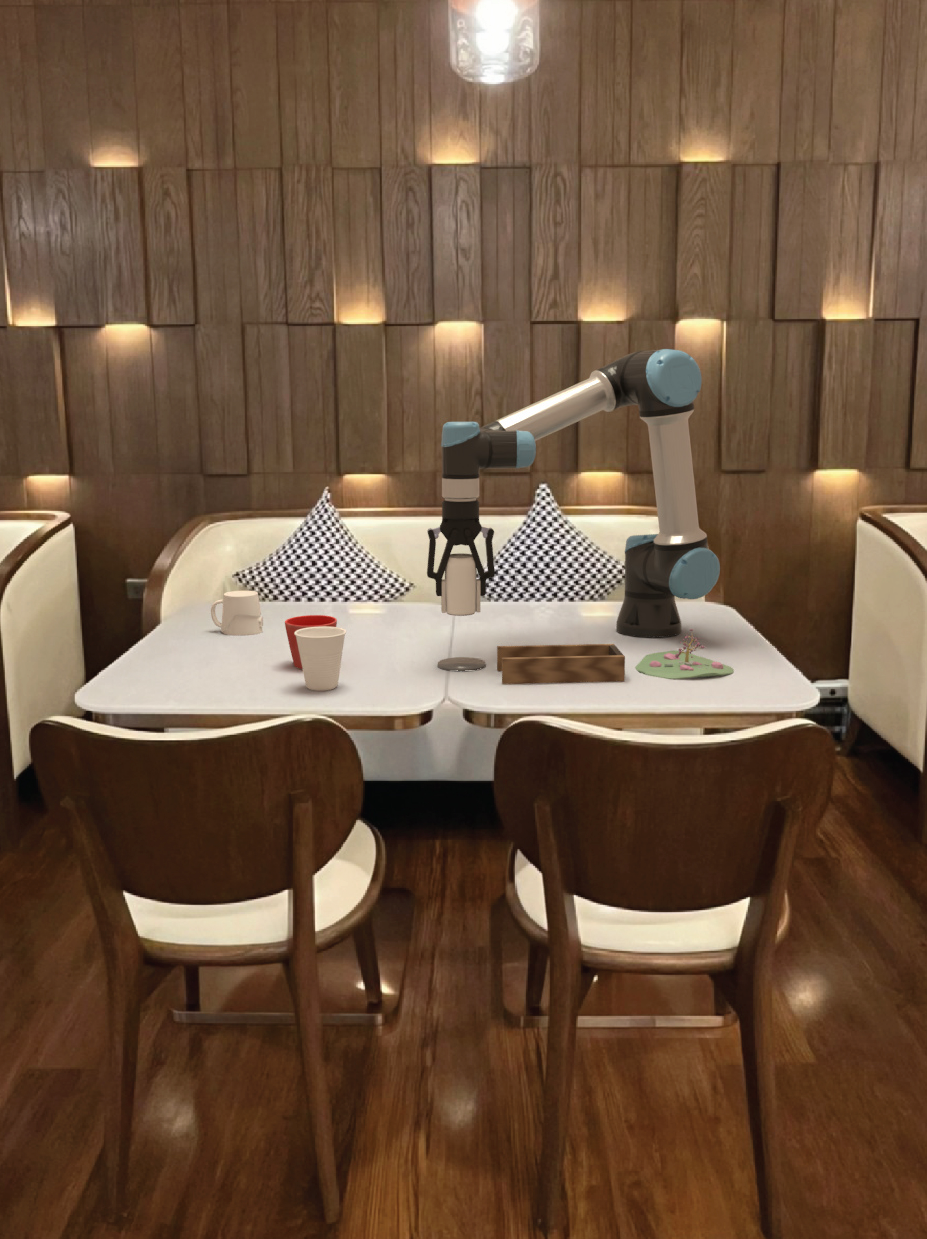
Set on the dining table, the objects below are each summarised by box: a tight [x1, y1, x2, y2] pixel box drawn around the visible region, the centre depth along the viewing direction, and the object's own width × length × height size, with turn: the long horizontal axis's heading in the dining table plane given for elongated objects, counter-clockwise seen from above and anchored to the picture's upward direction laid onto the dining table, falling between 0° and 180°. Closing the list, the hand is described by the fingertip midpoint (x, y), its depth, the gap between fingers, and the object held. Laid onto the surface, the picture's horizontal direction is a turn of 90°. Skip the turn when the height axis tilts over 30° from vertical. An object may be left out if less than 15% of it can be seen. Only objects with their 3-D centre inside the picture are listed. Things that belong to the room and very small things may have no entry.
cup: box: [294, 626, 347, 692], centre depth 221 cm, size 10×10×11 cm
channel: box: [496, 643, 626, 685], centre depth 230 cm, size 24×11×5 cm, turn 94°
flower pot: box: [284, 614, 338, 670], centre depth 239 cm, size 11×11×10 cm
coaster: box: [437, 656, 487, 672], centre depth 239 cm, size 10×10×1 cm
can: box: [444, 552, 477, 617], centre depth 236 cm, size 6×6×12 cm
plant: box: [634, 628, 735, 680], centre depth 238 cm, size 25×21×9 cm
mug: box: [210, 590, 264, 637], centre depth 272 cm, size 12×9×8 cm
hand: (460, 611), depth 236 cm, fingers closed on can, 6 cm apart
